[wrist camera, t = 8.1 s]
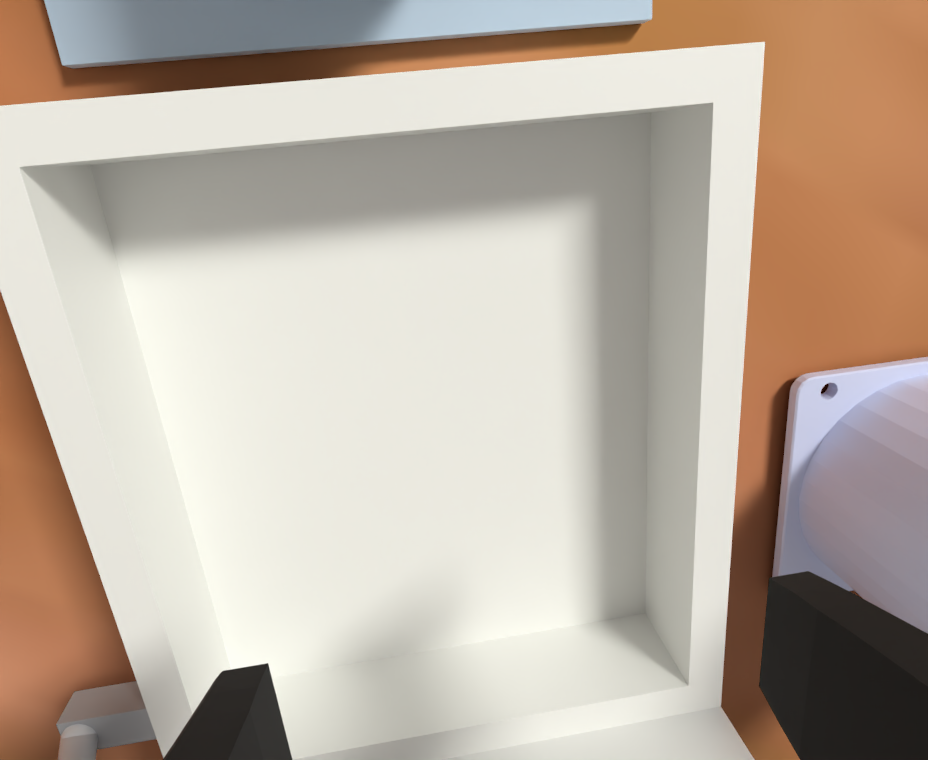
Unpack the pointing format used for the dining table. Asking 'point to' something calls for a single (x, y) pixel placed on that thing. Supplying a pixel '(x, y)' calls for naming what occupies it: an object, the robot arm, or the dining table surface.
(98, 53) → the mat
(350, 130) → the case
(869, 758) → the robot arm
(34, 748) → the dining table surface
